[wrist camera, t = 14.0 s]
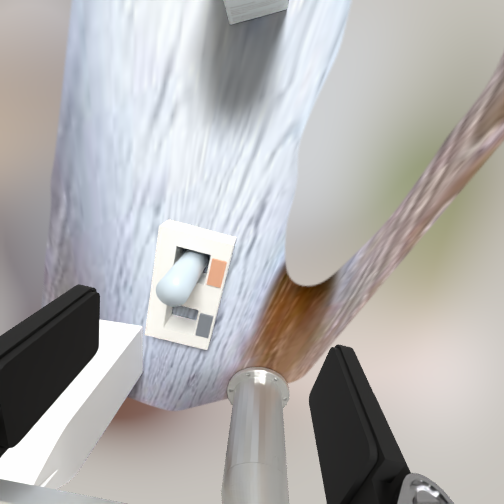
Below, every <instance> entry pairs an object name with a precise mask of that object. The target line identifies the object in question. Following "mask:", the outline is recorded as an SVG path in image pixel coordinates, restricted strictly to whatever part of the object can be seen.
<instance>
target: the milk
mask: <svg viewBox="0 0 504 504" xmlns="http://www.w3.org/2000/svg"><path fill="white" fill-rule="evenodd" d="M142 373H143V326H138V325H131V324H125V323H119V322H112V321H106V320H99V348H98V351H97V353H96V355H95V356H94V357H93V358H92V360H91V361H90V362H89V363H88V364H87V365H86V366H85V368H84V369H83V370H82V371H81V372H80V373H79V375H78V376H77V377H76V378H75V379H74V380H73V381H72V383H71V384H70V385H69V386H68V387H67V388H66V390H65V391H64V392H63V393H62V394H61V395H60V396H59V398H58V399H57V400H56V401H55V402H54V403H53V404H52V406H51V407H50V408H49V409H48V410H47V411H46V413H45V414H44V415H43V416H42V417H41V418H40V419H39V421H38V422H37V423H36V424H35V425H34V426H33V428H32V429H31V430H30V431H29V432H28V433H27V434H26V436H25V437H24V438H23V439H22V440H21V441H20V442H19V443H18V444H17V445H16V446H15V447H13V448H9V449H8V450H7V451H6V452H5V453H4V454H3V455H2V457H1V458H0V479H4V480H9V481H15V482H20V483H25V484H30V485H35V486H40V487H45V488H50V489H58V488H60V487H62V486H64V485H65V484H67V483H68V482H69V481H71V479H72V478H73V477H74V476H75V475H76V474H77V473H78V471H79V470H80V468H81V467H82V465H83V464H84V462H85V461H86V459H87V458H88V456H89V455H90V453H91V452H92V450H93V448H94V447H95V445H96V444H97V442H98V441H99V439H100V438H101V436H102V434H103V433H104V431H105V430H106V428H107V427H108V425H109V424H110V422H111V421H112V419H113V418H114V416H115V414H116V413H117V411H118V410H119V408H120V407H121V405H122V404H123V402H124V400H125V399H126V398H127V396H128V394H129V393H130V391H131V390H132V388H133V387H134V385H135V384H136V382H137V381H138V379H139V377H140V376H141V374H142Z"/></svg>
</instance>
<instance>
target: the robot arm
mask: <svg viewBox="0 0 504 504" xmlns="http://www.w3.org/2000/svg"><path fill="white" fill-rule="evenodd" d="M99 315H100V295H99V293H97V292H96V289H95V288H92V287H88V286H84V285H76V286H75V287H73V288H72V289H70V290H69V291H67V292H66V293H64V294H63V295H61V296H60V297H58V298H57V299H55V300H54V301H52V302H51V303H49V304H48V305H46V306H45V307H43V308H42V309H40V310H39V311H37V312H36V313H34V314H33V315H31V316H30V317H28V318H27V319H25V320H24V321H22V322H21V323H19V324H18V325H16V326H15V327H13V328H12V329H10V330H9V331H7V332H6V333H4V334H3V335H1V336H0V458H1V457H2V455H3V454H4V453H5V452H6V451H7V450H8V449H9V448H13V447H15V446H16V445H17V444H18V443H19V442H20V441H21V440H22V439H23V438H24V437H25V436H26V434H27V433H28V432H29V431H30V430H31V429H32V428H33V426H34V425H35V424H36V423H37V422H38V421H39V419H40V418H41V417H42V416H43V415H44V414H45V413H46V411H47V410H48V409H49V408H50V407H51V406H52V404H53V403H54V402H55V401H56V400H57V399H58V398H59V396H60V395H61V394H62V393H63V392H64V391H65V390H66V388H67V387H68V386H69V385H70V384H71V383H72V381H73V380H74V379H75V378H76V377H77V376H78V375H79V373H80V372H81V371H82V370H83V369H84V368H85V366H86V365H87V364H88V363H89V362H90V361H91V360H92V358H93V357H94V356H95V355H96V353H97V351H98V348H99ZM227 396H228V399H229V401H230V402H231V404H232V405H233V408H232V416H231V423H230V431H229V438H228V445H227V453H226V460H225V469H224V475H223V483H222V504H289V495H288V480H287V465H286V450H285V436H284V421H283V408H284V407H285V405H286V404H287V402H288V400H289V387H288V384H287V382H286V380H285V379H284V378H283V377H282V376H281V375H280V374H278V373H277V372H275V371H273V370H271V369H267V368H263V367H251V368H246V369H243V370H241V371H239V372H237V373H236V374H235V375H234V376H233V377H232V378H231V379H230V381H229V384H228V388H227ZM309 406H310V411H311V417H312V422H313V428H314V433H315V439H316V445H317V450H318V456H319V462H320V467H321V473H322V478H323V484H324V489H325V494H326V500H327V504H454V503H453V501H452V500H451V499H450V498H449V497H448V495H447V494H446V493H445V492H444V491H443V490H442V489H441V488H440V487H439V486H438V485H437V484H436V483H434V482H433V481H431V480H430V479H429V478H427V477H425V476H423V475H420V474H416V473H411V472H410V470H409V468H408V466H407V464H406V462H405V459H404V458H403V455H402V453H401V451H400V449H399V446H398V444H397V442H396V440H395V438H394V436H393V434H392V431H391V429H390V427H389V425H388V423H387V421H386V418H385V416H384V414H383V412H382V410H381V408H380V405H379V403H378V401H377V399H376V397H375V395H374V393H373V392H372V389H371V387H370V385H369V383H368V380H367V378H366V376H365V374H364V372H363V369H362V367H361V365H360V363H359V361H358V359H357V356H356V354H355V352H354V350H353V349H352V348H350V347H346V346H342V345H336V346H335V348H334V347H332V348H331V349H330V350H329V353H328V355H327V357H326V359H325V362H324V364H323V366H322V368H321V370H320V373H319V375H318V377H317V380H316V381H315V384H314V386H313V388H312V390H311V393H310V396H309ZM0 504H126V503H122V502H117V501H111V500H106V499H102V498H96V497H91V496H85V495H81V494H76V493H71V492H66V491H60V490H56V489H50V488H45V487H40V486H35V485H30V484H25V483H20V482H15V481H9V480H4V479H0Z"/></svg>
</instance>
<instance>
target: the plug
mask: <svg viewBox="0 0 504 504" xmlns="http://www.w3.org/2000/svg"><path fill="white" fill-rule="evenodd" d="M209 258H210V256H209V254H205V253H201V252H197V251H194V250H190V249H187V250H186V252H185V253H184V254H183V255H182V256H181V257H180V258H179V260H178V261H177V262H176V263H175V264H174V265H173V266H172V268H171V269H170V270H169V271H168V272H167V273H166V274H165V276H164V277H163V278H162V279H161V280H160V281H159V282H158V284H157V286H156V294H157V297H158V298H159V300H160V301H161V302H162V303H164V304H165V305H168V306H171V307H177V306H181V305H183V304H184V303H185V302H186V301H187V299H188V297H189V296H190V294H191V292H192V290H193V288H194V287H195V285H196V283H197V281H198V280H199V278H200V276H201V274H202V272H203V271H204V269H205V267H206V265H207V264H208V262H209Z"/></svg>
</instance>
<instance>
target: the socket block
mask: <svg viewBox="0 0 504 504" xmlns="http://www.w3.org/2000/svg"><path fill="white" fill-rule="evenodd" d="M236 238H237V237H234V236H230V235H226V234H223V233H219V232H215V231H211V230H208V229H204V228H200V227H196V226H193V225H189V224H185V223H181V222H178V221H174V220H170V219H169V220H167V221H166V222H164V223H163V224H161V225H159V231H158V239H157V246H156V254H155V261H154V269H153V277H152V284H151V292H150V299H149V307H148V315H147V322H146V330H145V335H147V336H152V337H156V338H160V339H164V340H168V341H172V342H176V343H180V344H184V345H188V346H192V347H196V348H200V349H204V350H207V349H208V346H209V343H210V339H211V336H212V333H213V329H214V325H215V321H216V317H217V313H218V309H219V305H220V301H221V297H222V293H223V289H224V285H225V281H226V277H227V273H228V269H229V265H230V261H231V257H232V254H233V250H234V246H235V242H236ZM183 248H186V249H190V250H194V251H197V252H201V253H205V254H209V255H211V257H210V261H209V266H208V271H207V273H204V272H202V274H201V276H200V278H199V280H198V281H197V283H196V285H195V287H194V288H193V290H192V292H191V294H190V296H189V297H188V299H187V301H186V302H185V303H184V304H183V305H181V306H184V307H188V308H192V309H196V310H199V312H198V316H197V320H193V319H189V318H185V317H181V316H178V315H174V314H172V309H173V307H171V306H168V305H165V304H164V303H162V302H161V301H160V300H159V298H158V297H157V294H156V286H157V284H158V282H159V281H160V280H161V279H162V278H163V277H164V276H165V274H166V273H167V272H168V271H169V270H170V269H171V268H172V266H173V265H174V264H175V263H176V262H177V261H178V260H179V258H180V257H181V256H182V252H183Z"/></svg>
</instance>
